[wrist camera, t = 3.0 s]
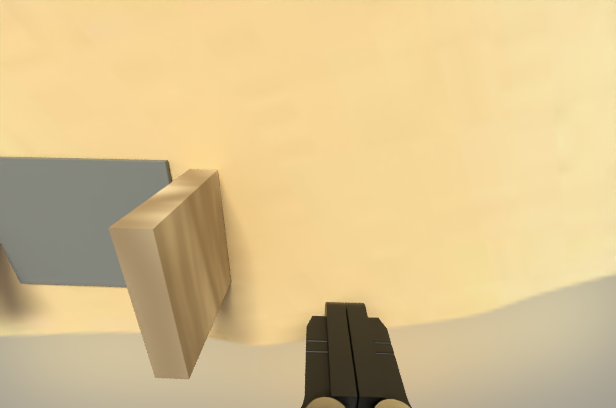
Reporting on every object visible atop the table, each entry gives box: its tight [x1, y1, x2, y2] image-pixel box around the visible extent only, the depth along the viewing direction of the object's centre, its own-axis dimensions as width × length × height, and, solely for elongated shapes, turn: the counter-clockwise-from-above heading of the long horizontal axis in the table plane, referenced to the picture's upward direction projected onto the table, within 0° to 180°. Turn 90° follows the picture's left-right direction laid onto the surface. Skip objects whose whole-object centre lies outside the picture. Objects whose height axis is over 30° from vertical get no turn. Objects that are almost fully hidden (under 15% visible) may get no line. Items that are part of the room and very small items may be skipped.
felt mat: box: [0, 157, 172, 287], centre depth 18 cm, size 12×9×1 cm
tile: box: [109, 169, 231, 379], centre depth 15 cm, size 2×8×7 cm, turn 179°
